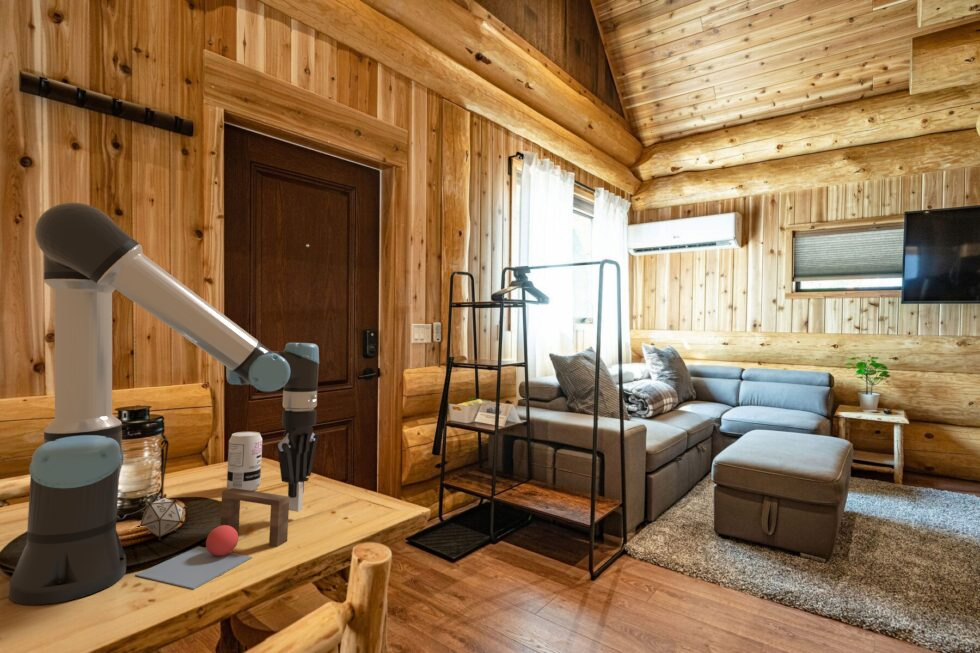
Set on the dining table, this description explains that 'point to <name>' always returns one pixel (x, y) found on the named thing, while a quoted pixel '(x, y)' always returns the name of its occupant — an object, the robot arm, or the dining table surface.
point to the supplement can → (244, 461)
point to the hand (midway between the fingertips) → (295, 509)
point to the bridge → (277, 502)
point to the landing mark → (193, 568)
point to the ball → (222, 540)
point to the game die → (162, 516)
